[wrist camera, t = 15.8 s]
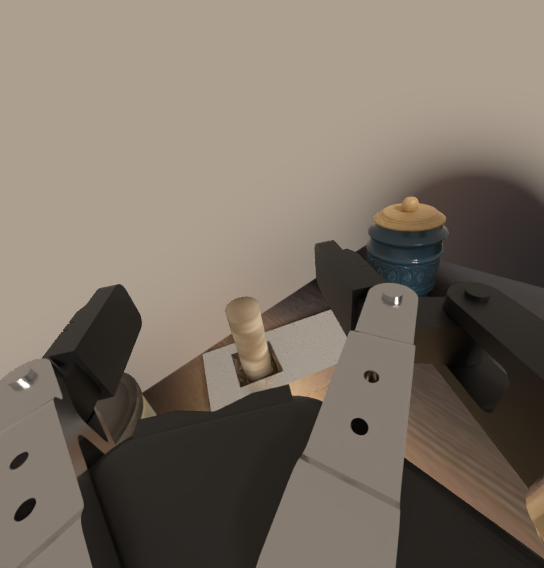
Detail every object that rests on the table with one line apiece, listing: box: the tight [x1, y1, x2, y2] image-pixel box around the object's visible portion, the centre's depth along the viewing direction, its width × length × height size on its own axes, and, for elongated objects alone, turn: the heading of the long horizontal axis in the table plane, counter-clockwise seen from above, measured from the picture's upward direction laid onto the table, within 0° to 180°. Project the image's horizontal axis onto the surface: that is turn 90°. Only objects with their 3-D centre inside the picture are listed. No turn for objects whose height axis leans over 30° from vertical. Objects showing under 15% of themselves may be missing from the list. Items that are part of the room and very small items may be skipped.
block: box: [203, 310, 347, 411], centre depth 38 cm, size 26×10×4 cm, turn 110°
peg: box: [225, 297, 274, 385], centre depth 34 cm, size 4×4×14 cm
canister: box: [366, 197, 448, 297], centre depth 48 cm, size 13×13×18 cm
